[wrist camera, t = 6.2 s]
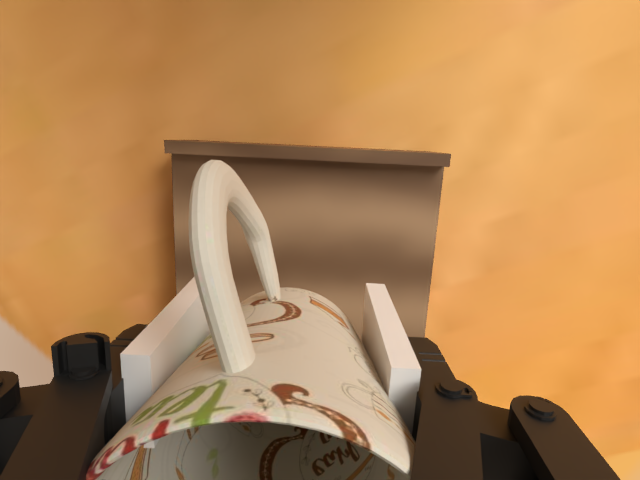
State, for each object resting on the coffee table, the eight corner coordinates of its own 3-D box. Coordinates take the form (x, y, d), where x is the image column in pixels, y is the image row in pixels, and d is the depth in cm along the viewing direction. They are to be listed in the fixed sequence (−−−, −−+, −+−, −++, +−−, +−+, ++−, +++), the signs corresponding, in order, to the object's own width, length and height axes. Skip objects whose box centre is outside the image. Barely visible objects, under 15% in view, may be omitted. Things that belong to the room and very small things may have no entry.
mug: (221, 454, 19) (120, 786, 9) (129, 182, 16) (-156, 242, 6) (402, 416, 19) (499, 717, 9) (339, 131, 16) (380, 110, 6)
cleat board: (189, 140, 31) (-30, 139, 12) (430, 151, 31) (605, 170, 12) (195, 352, 35) (37, 613, 16) (407, 362, 35) (510, 634, 16)
